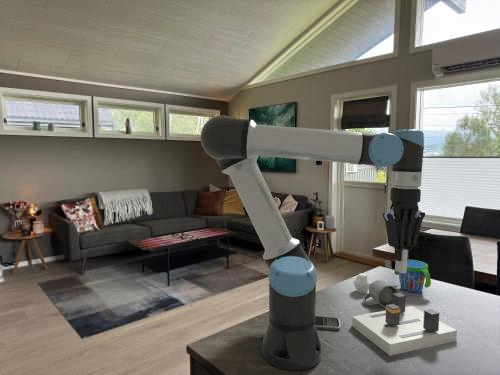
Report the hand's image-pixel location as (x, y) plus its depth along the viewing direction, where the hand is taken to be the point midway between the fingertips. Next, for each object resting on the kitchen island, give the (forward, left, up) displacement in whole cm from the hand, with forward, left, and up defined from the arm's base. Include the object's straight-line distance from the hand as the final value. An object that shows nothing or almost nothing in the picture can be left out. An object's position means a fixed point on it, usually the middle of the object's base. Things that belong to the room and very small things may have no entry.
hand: (400, 271), depth 96 cm
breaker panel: (+1, 0, -18) cm, 18 cm away
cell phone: (-18, +12, -19) cm, 28 cm away
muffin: (+9, +29, -18) cm, 35 cm away
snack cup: (+28, +25, -18) cm, 42 cm away
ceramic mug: (+8, +18, -18) cm, 27 cm away
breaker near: (+5, -6, -15) cm, 17 cm away
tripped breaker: (-2, 0, -15) cm, 15 cm away
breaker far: (+5, +6, -15) cm, 17 cm away
